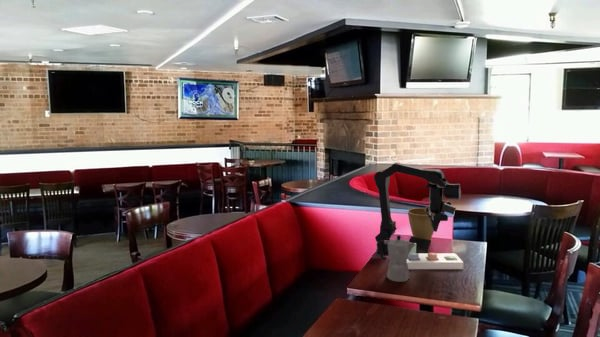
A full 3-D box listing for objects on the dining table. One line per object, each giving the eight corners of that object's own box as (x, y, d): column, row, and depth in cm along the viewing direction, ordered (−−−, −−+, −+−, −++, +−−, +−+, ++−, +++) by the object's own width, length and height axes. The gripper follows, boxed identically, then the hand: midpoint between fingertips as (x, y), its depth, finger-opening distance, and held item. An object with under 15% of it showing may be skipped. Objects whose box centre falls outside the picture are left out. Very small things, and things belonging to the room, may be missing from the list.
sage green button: (447, 266, 203) (447, 258, 202) (444, 263, 207) (444, 255, 206) (456, 266, 202) (456, 258, 202) (453, 263, 206) (454, 255, 206)
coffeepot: (415, 275, 194) (415, 233, 191) (414, 283, 185) (415, 239, 182) (377, 272, 198) (378, 231, 195) (375, 280, 189) (375, 237, 186)
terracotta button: (428, 263, 203) (428, 255, 202) (426, 260, 207) (426, 252, 206) (437, 263, 203) (438, 255, 202) (435, 260, 207) (435, 252, 206)
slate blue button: (410, 263, 203) (410, 255, 203) (408, 260, 207) (408, 252, 207) (419, 263, 203) (419, 255, 203) (417, 260, 207) (417, 252, 206)
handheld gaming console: (400, 249, 223) (407, 230, 226) (403, 254, 229) (410, 236, 232) (423, 256, 217) (430, 237, 220) (425, 261, 223) (432, 242, 226)
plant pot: (402, 238, 245) (403, 208, 243) (429, 236, 248) (429, 207, 246) (414, 246, 231) (415, 215, 229) (442, 244, 233) (443, 213, 231)
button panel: (406, 269, 201) (406, 251, 199) (402, 259, 212) (402, 242, 211) (463, 269, 199) (463, 251, 198) (455, 259, 211) (455, 242, 210)
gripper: (460, 202, 199) (459, 237, 201) (448, 193, 217) (447, 225, 220) (434, 202, 200) (433, 237, 202) (424, 193, 218) (424, 226, 220)
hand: (435, 231), depth 211 cm, fingers closed
